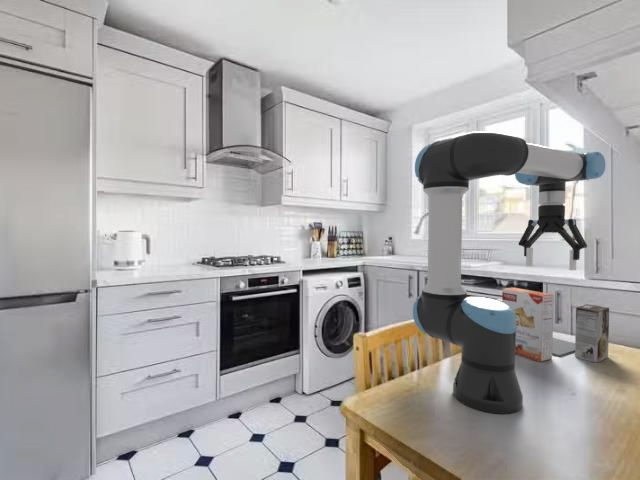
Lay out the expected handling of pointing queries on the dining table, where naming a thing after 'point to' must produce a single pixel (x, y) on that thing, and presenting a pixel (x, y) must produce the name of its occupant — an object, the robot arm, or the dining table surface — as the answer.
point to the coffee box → (592, 332)
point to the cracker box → (532, 322)
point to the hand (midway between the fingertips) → (549, 268)
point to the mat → (562, 347)
